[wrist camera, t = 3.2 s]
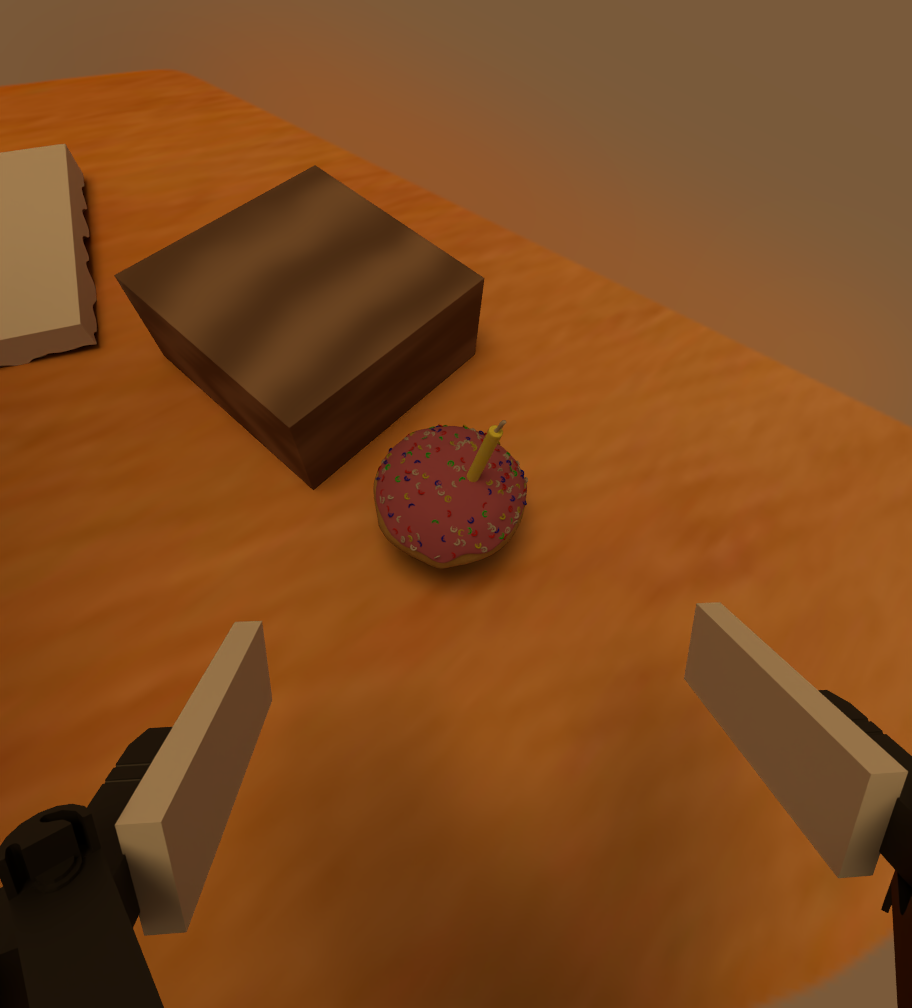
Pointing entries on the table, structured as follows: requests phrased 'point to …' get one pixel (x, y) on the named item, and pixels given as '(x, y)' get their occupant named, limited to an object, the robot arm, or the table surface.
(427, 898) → the table surface
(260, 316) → the riser
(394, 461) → the cupcake
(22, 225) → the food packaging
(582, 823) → the table surface
